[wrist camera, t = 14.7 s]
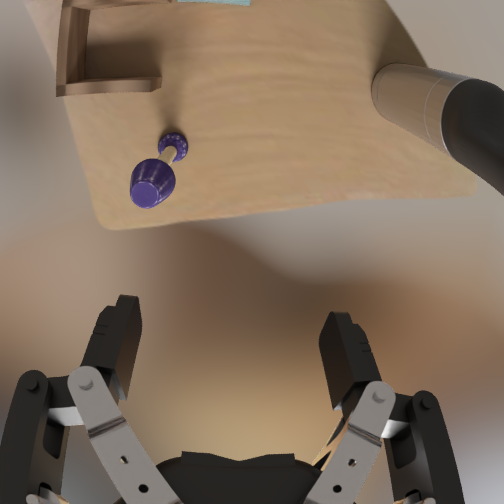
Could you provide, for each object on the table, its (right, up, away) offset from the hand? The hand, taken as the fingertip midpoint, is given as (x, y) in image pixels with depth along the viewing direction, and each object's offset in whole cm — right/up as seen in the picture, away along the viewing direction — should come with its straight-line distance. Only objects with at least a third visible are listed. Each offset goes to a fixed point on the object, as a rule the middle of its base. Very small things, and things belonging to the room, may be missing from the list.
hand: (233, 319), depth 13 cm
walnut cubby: (-17, +30, +18) cm, 39 cm away
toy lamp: (-10, +18, +28) cm, 34 cm away
